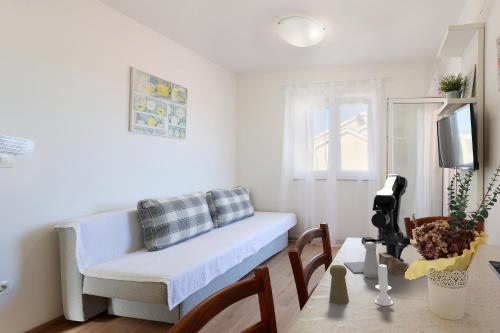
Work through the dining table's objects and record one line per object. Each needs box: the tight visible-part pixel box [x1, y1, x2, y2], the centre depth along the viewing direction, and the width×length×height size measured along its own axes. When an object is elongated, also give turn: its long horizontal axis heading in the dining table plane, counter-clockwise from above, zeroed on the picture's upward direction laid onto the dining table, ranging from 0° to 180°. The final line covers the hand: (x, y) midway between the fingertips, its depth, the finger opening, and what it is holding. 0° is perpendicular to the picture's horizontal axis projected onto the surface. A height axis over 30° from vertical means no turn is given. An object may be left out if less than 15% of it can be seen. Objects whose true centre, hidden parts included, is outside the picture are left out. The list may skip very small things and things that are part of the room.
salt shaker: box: [363, 242, 379, 279], centre depth 137 cm, size 6×6×13 cm
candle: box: [374, 264, 394, 307], centre depth 112 cm, size 5×5×12 cm
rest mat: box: [343, 261, 364, 274], centre depth 149 cm, size 14×10×1 cm
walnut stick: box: [378, 252, 404, 276], centre depth 146 cm, size 16×3×5 cm, turn 1°
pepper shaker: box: [328, 264, 350, 305], centre depth 114 cm, size 6×6×11 cm
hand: (386, 261), depth 150 cm, fingers open, 9 cm apart
